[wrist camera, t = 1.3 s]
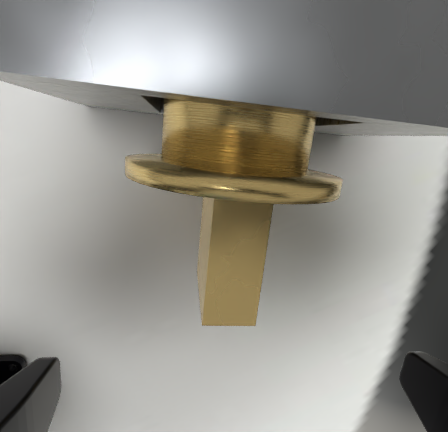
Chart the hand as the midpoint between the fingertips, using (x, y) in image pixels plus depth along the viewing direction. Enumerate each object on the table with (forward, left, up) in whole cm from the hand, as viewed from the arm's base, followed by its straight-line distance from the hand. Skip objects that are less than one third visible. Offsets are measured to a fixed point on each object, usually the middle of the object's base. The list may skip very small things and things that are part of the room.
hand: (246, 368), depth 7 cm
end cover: (+4, 0, -10) cm, 11 cm away
